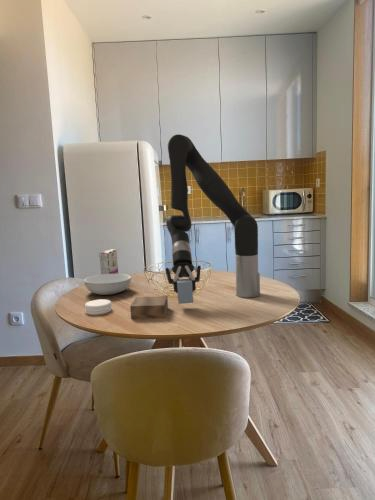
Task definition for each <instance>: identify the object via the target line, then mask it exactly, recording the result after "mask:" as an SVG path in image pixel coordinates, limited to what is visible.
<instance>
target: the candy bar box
mask: <svg viewBox="0 0 375 500" xmlns="http://www.w3.org/2000/svg"><path fill="white" fill-rule="evenodd" d="M117 252H118V251H117V249H116V248H115V249H114V248H113V249H110V248H109V249H107V250H104V251H101V252H99V253H98V254H99V265H100V275H101V274H119V265H118V253H117Z"/></svg>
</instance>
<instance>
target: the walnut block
mask: <svg viewBox="0 0 375 500" xmlns="http://www.w3.org/2000/svg"><path fill="white" fill-rule="evenodd" d="M168 301H169V300H168V296H167V295H164V296H163V295H162V296H161V295H160V296H135V298H134V299H133V301H132V302H131V304H130V318H131V320H133V319H134V320H135V319H136V320H138V319H141V320H142V319H144V320H145V319H165V318H166V315H167V312H168V309H169V302H168Z"/></svg>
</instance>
